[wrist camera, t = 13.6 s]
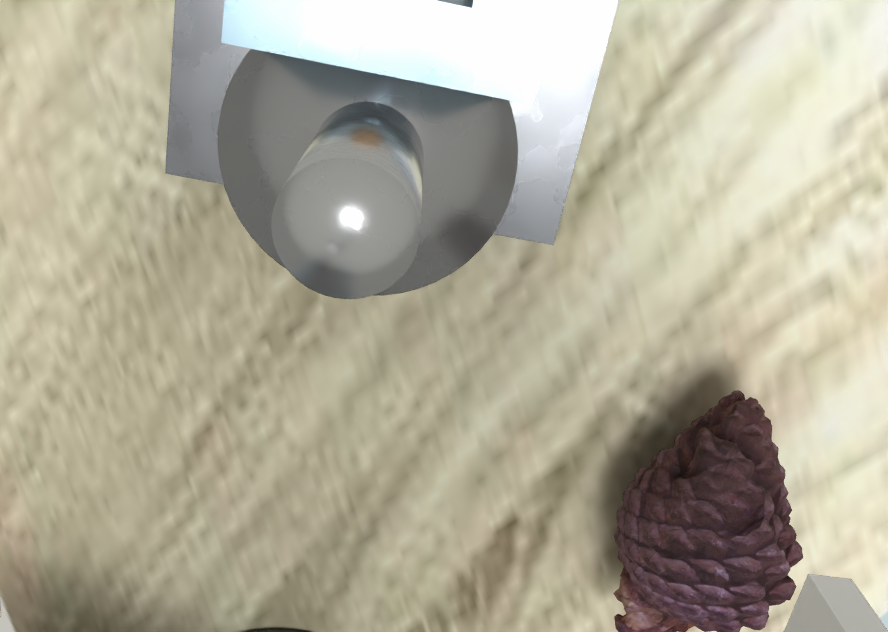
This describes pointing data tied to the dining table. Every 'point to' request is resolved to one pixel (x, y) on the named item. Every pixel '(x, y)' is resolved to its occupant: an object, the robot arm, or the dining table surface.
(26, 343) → the dining table surface
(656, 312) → the dining table surface
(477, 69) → the grey square hole fixture
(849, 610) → the robot arm
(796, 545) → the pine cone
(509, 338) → the dining table surface
